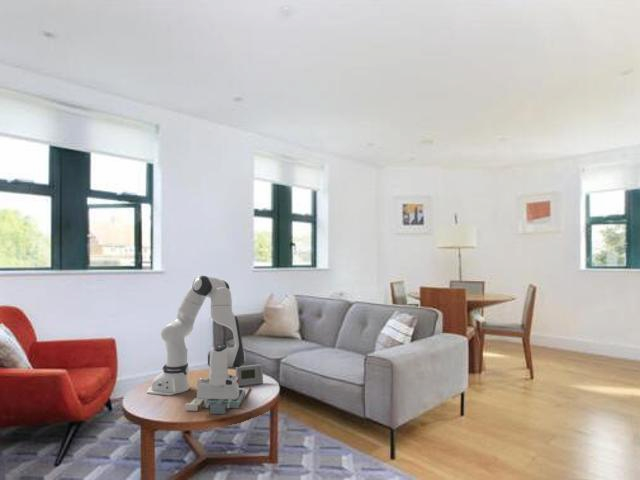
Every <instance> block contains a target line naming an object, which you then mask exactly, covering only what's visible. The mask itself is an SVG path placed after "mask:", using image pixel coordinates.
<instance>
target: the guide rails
mask: <svg viewBox="0 0 640 480" xmlns="http://www.w3.org/2000/svg"><path fill="white" fill-rule="evenodd" d="M251 390H252V389H251V387H249V388H248V390H247V392H246V393H245V396H244V398H243V400H242V402H241V404H240V406H239V410H241V409H242V407H243V405H244V403H245V401H246V399H247V397H248V395H249V394H250V391H251ZM199 407H200V410H202V409H203V408H204V402H203V403H202V404H201V405H200V406H199Z"/></svg>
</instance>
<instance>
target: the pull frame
mask: <svg viewBox="0 0 640 480" xmlns="http://www.w3.org/2000/svg"><path fill="white" fill-rule="evenodd" d="M245 396H246V389H245V388H239V397H238V398H237V400H236V401H231V402H230V404H229V408H228V409H230V408H235V409H236V408H237V409H238V408H239V409H240V406H241V404H242V402H243V400H244V398H245ZM207 401H208V403H210V408H209V415H225V414H226V409H227V408H226V403H229V401H224V399H219V400H218V401H216V400H213V399H208V400H207ZM203 403H204V406H203V408H206V404H205V402H204V401H203Z"/></svg>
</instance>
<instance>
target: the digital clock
mask: <svg viewBox="0 0 640 480" xmlns="http://www.w3.org/2000/svg"><path fill="white" fill-rule="evenodd" d="M263 373H264V372H263V364H259V363H258V364H249V365H241V366H240V367H235V376H236V377H237V378H239V387H248V386H255V385H259V384H261V385H262V384H263V383H264V374H263Z"/></svg>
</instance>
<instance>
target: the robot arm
mask: <svg viewBox="0 0 640 480" xmlns="http://www.w3.org/2000/svg"><path fill="white" fill-rule="evenodd" d="M206 298H210V317H211V319H212V320H213V322H215V323H216V324H218V325H220V326H224V327H226V328H228V329H230V330H231V332H232V336H233V341H234V342H233V343H234V346H232V347H228V346H227V345H225V344H221V343H218V344H215V345H213V346H212V347H211V348H210V351H208V353H207V365H208V367H209V372H208V373H209V374H208V375H209V376H208V377H209V378H200V379H199V380H197V381H196V382H197V383H196V384H197V385H196V386H197V391H196V398H198V399H204V401H203V403H204V402H205V404H206V407H205V408H206V409H210V403H208V401H207V400H208V399H212V400H216V399H228V401H229V403H226V408H225V409H230V408H229V404H230V402H231V400H232V399H237V400H238V399H239V397H240V395H239V389H240V386H239V385H238V383H237V377H236V375H232V374H231V373H229V370H228V368H236V367H240V366H244V364H245V361H246V353H245V349H244V347H243V346H244V345H243V337H242V333H241V326H240V323H239V322H240V321H239V319H238V317H237V316H236V315H234V312H233V307H232V306H233V305H232V304H233V303H232V302H233V301H232V299H233V298H232V294H231V290H230V285H229V283H228V282H227V281H225V280H222V279H220V278H216V277H211V276H207V275H198V276H196V277H195V278H194V279H193V282H192V284H191V286H190V287H189V288H188V290H187V291H186V293H185V295H184V296H183V298H182V300H181V302H180V304H179V306H178V308H177V310H178V311H177V314H176V318H175V319H174V320H173V321H171V322H170V323H167V324H166V325H165V326H164V327H163V328H162V330H161V333H160V334H161V339H162V340H163V341H164V345H165V348H166V349H165V350H166V363H165V364H164V365H163V366H162V369H161V370H163V371H162V372H161V373H158V375H157V376H156V377H154V378H153V379H152V382H151V386H150V387H148V388H147V391H146V394H151V395H160V396H161V395H164V396H174V395H175V394H181V393H184V392H187V391H188V390H189V389H190V388H191V387H190V384H189V383H190V382H189V377H188V373H189V363H188V354H189V353H188V348H187V347H186V346H187V345H186V343H185V338H186V337H187V336H189V335H190V334H191V333H192V331H193V330H194V325H195V320H196V319H197V316H198V314H199V312H200V310H201V308H202V306H203V304H204V302H205V300H206Z"/></svg>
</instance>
